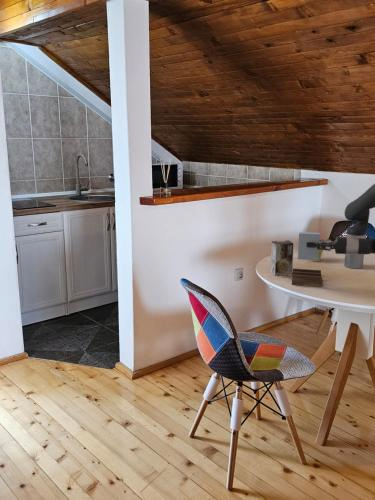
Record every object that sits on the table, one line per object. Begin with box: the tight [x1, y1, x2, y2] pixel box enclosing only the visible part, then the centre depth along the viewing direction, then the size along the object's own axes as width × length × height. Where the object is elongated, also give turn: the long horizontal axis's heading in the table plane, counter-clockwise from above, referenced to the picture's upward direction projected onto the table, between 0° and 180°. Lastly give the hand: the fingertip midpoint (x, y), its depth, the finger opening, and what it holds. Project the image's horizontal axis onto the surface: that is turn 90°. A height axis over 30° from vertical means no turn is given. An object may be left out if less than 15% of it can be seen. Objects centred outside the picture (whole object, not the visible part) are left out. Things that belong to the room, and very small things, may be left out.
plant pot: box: [307, 242, 324, 263], centre depth 257 cm, size 10×10×10 cm
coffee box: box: [270, 239, 294, 277], centre depth 231 cm, size 9×6×16 cm
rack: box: [291, 268, 323, 287], centre depth 219 cm, size 11×13×4 cm
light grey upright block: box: [297, 231, 321, 261], centre depth 213 cm, size 3×9×12 cm, turn 76°
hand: (306, 243), depth 213 cm, fingers closed on light grey upright block, 3 cm apart
